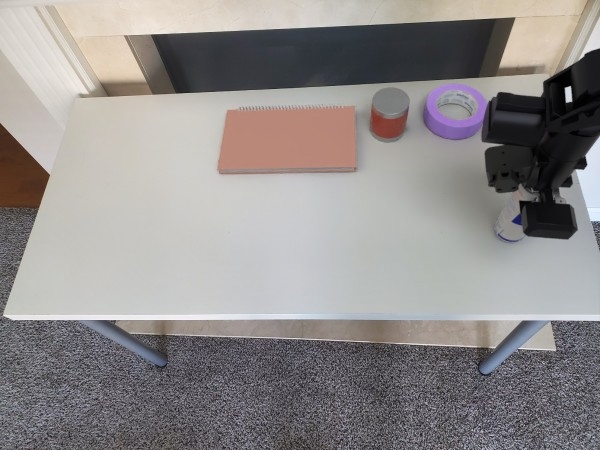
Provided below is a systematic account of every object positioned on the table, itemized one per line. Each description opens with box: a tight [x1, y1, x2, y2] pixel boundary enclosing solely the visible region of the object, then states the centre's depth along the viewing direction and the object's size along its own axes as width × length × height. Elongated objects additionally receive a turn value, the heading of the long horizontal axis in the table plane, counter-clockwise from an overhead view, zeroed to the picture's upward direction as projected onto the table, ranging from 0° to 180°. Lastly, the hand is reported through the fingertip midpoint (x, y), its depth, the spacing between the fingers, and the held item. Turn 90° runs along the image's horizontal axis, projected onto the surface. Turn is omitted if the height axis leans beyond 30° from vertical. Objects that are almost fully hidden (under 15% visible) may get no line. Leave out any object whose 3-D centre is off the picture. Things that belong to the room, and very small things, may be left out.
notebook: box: [216, 103, 358, 175], centre depth 91 cm, size 27×17×2 cm, turn 88°
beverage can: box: [493, 183, 540, 244], centre depth 71 cm, size 5×5×15 cm
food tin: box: [369, 86, 411, 143], centre depth 87 cm, size 7×7×8 cm
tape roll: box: [423, 83, 488, 140], centre depth 89 cm, size 12×12×4 cm
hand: (522, 208), depth 70 cm, fingers closed on beverage can, 5 cm apart
